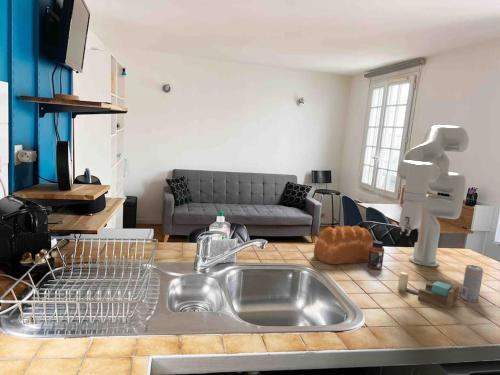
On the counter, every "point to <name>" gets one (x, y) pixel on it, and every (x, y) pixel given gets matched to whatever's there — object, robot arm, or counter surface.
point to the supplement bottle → (376, 255)
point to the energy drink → (472, 283)
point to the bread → (343, 245)
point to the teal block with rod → (402, 285)
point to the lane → (439, 296)
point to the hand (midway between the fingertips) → (408, 243)
